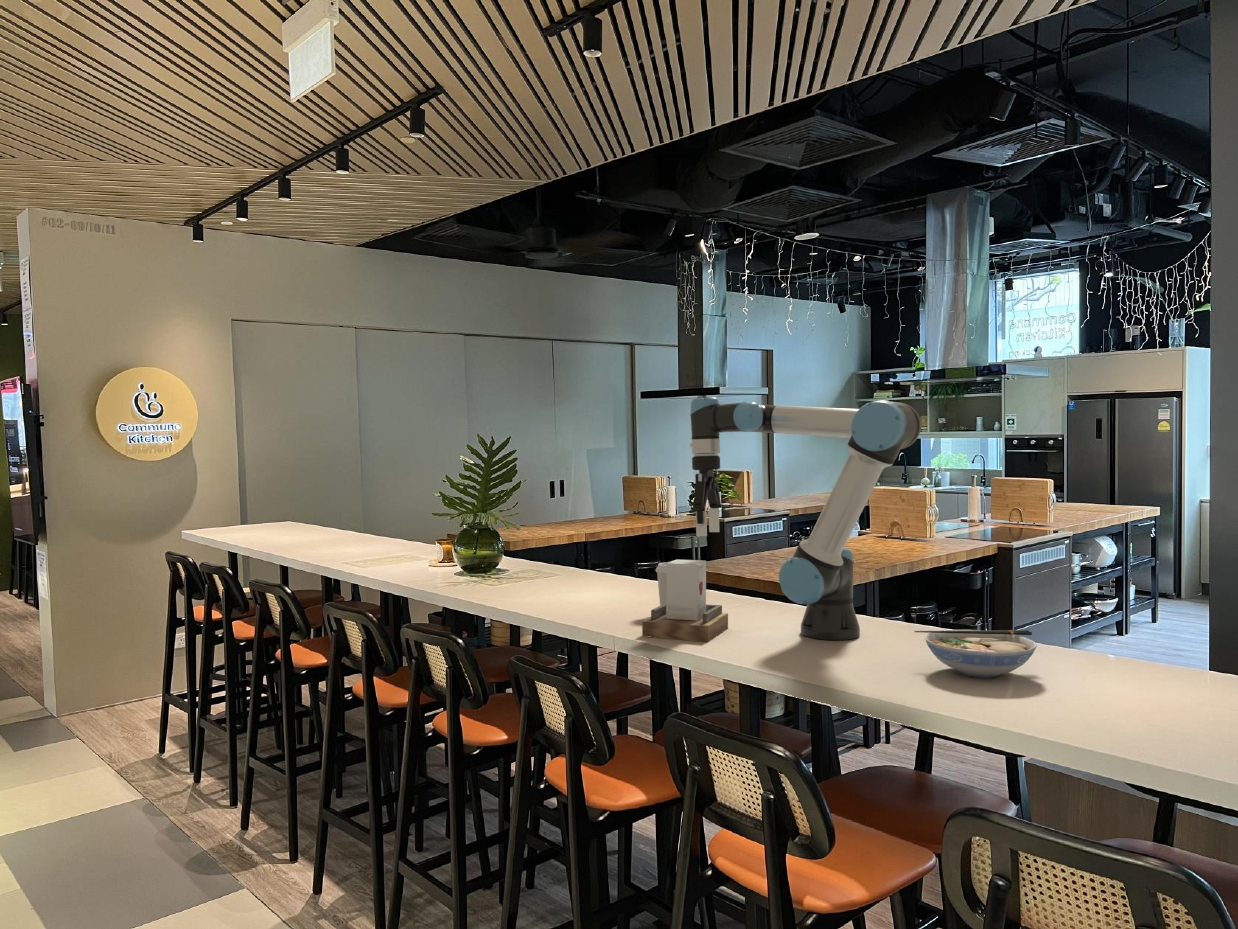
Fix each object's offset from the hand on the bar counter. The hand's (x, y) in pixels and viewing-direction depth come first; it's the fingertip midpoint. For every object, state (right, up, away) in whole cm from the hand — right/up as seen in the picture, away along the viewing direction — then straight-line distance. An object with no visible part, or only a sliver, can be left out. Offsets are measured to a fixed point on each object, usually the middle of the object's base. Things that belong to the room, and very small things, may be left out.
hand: (708, 534), depth 242 cm
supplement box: (-6, -22, -2) cm, 23 cm away
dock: (-6, -26, -2) cm, 27 cm away
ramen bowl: (+54, -27, -47) cm, 76 cm away
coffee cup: (-8, -26, +23) cm, 36 cm away
